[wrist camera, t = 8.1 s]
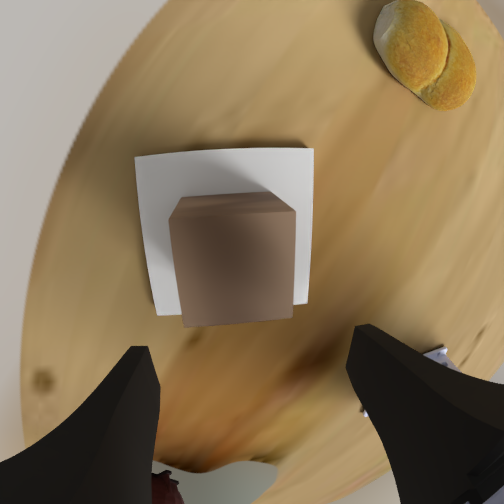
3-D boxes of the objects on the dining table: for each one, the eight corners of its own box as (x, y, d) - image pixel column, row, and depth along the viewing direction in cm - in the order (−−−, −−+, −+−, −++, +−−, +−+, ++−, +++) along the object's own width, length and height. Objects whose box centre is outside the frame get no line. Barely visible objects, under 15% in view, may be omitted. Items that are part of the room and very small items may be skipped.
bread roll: (447, 127, 17) (483, 130, 13) (359, 63, 14) (392, 49, 11) (462, 53, 14) (494, 48, 10) (383, -10, 12) (411, -29, 8)
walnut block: (270, 191, 16) (296, 211, 11) (271, 272, 18) (292, 317, 13) (181, 197, 15) (168, 219, 11) (190, 279, 17) (184, 327, 12)
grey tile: (308, 148, 16) (313, 148, 15) (303, 297, 20) (307, 303, 19) (138, 156, 15) (134, 157, 14) (158, 309, 18) (157, 315, 18)
